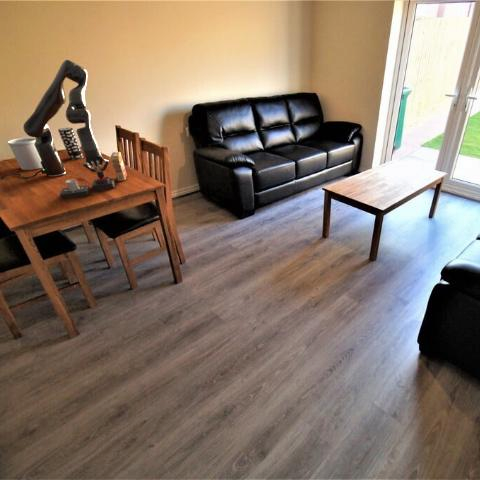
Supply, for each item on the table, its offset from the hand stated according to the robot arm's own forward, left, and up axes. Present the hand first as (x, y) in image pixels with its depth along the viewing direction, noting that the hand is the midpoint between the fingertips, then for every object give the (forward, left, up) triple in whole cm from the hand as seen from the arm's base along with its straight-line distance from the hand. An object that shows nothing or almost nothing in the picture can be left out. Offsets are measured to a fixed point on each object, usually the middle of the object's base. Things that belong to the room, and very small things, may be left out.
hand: (101, 178), depth 185 cm
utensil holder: (-54, +49, -6) cm, 74 cm away
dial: (-12, -8, -2) cm, 15 cm away
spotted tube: (-34, +64, -6) cm, 73 cm away
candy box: (+7, +12, -6) cm, 15 cm away
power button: (0, 0, -2) cm, 2 cm away
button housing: (0, 0, -6) cm, 6 cm away
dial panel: (-12, -8, -6) cm, 16 cm away
